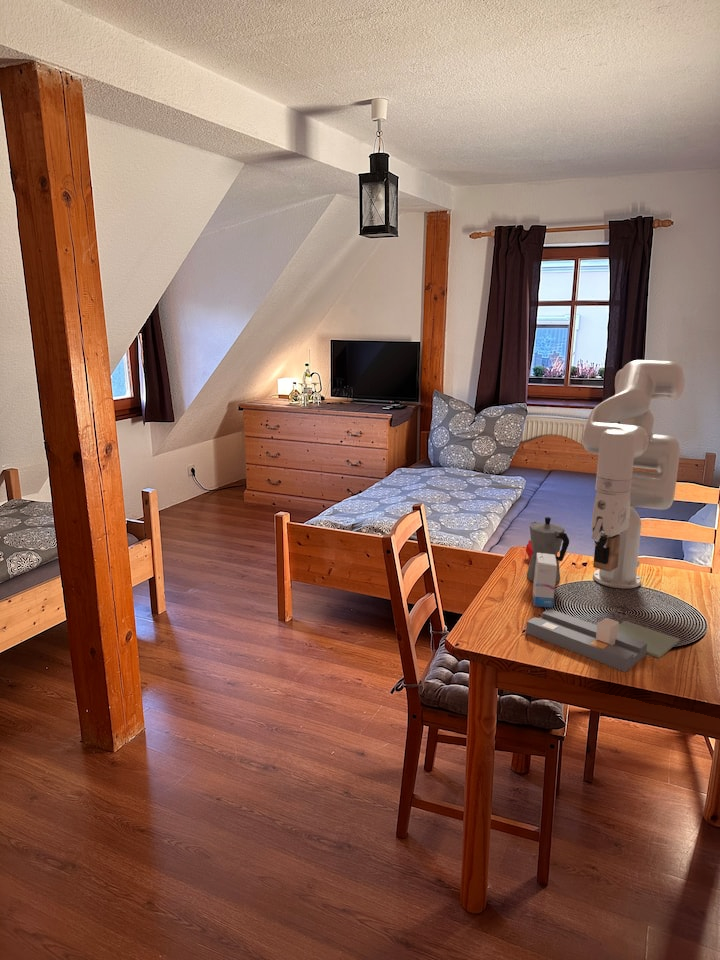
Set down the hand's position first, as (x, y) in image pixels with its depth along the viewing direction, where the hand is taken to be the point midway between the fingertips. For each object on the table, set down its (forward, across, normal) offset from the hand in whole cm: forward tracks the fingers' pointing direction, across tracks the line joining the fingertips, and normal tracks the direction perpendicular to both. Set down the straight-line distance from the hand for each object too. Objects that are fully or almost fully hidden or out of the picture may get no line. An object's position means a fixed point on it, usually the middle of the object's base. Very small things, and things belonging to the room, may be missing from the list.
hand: (605, 559), depth 157 cm
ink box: (+17, +3, +17) cm, 24 cm away
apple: (+17, +28, +34) cm, 47 cm away
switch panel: (+17, -11, -2) cm, 20 cm away
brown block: (+2, 0, 0) cm, 2 cm away
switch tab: (+15, -11, -7) cm, 20 cm away
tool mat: (+17, 0, -10) cm, 20 cm away
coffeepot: (+17, +16, +24) cm, 33 cm away
